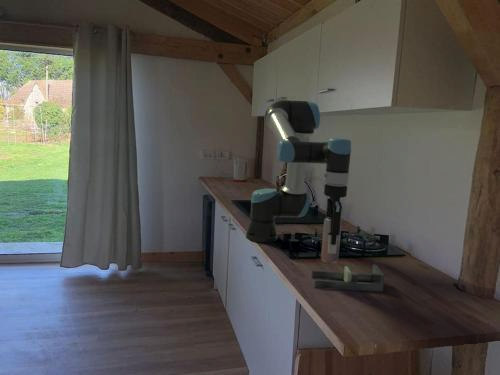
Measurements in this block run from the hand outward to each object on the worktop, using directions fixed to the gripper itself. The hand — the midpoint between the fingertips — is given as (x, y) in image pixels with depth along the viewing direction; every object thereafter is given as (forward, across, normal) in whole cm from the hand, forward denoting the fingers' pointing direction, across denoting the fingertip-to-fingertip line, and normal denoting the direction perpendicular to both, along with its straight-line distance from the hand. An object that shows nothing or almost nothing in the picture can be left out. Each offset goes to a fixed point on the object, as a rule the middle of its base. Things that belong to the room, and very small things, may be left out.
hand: (330, 249), depth 140 cm
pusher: (+12, 0, +8) cm, 14 cm away
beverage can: (+4, 0, 0) cm, 4 cm away
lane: (+12, 0, +6) cm, 14 cm away
